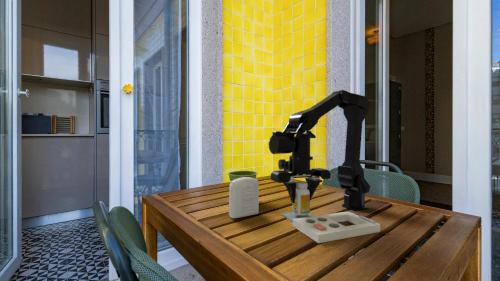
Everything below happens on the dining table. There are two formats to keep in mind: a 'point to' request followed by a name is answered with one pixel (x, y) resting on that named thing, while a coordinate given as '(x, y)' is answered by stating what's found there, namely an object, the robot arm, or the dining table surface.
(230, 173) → the plant pot
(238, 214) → the white rounded slab
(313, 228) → the socket board
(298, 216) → the slate mat
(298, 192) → the supplement bottle
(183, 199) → the dining table surface
